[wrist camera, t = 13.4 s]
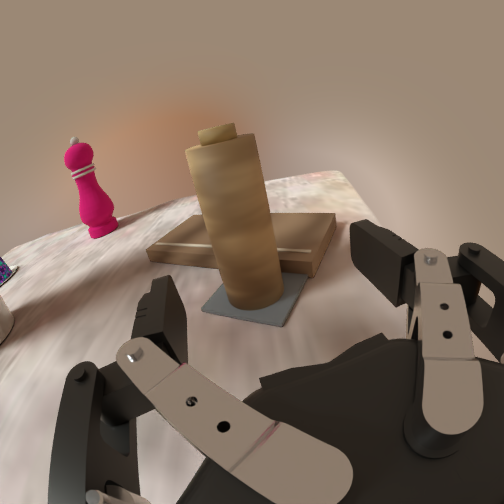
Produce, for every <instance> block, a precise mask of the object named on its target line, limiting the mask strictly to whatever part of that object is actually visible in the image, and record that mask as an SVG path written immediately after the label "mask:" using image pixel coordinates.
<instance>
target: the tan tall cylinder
mask: <svg viewBox="0 0 504 504" xmlns="http://www.w3.org/2000/svg"><path fill="white" fill-rule="evenodd" d="M198 135H199V139H200V143H201V144H200V145H197V146H194V147H191V148H189V149H187V150H185V153H186V157H187V161H188V164H189V168H190V171H191V176H192V179H193V183H194V186H195V190H196V194H197V197H198V201H199V204H200V208H201V211H202V215H203V218H204V222H205V225H206V228H207V232H208V235H209V238H210V242H211V245H212V248H213V252H214V255H215V258H216V262H217V265H218V268H219V271H220V274H221V278H222V281H223V284H224V287H225V290H226V293H227V296H228V300H229V302H230V304H231V305H232V306H234V307H235V308H237V309H240V310H246V311H252V310H259V309H263V308H266V307H268V306H270V305H272V304H274V303H275V302H276V301H278V300H279V299H280V298H281V296H282V294H283V292H284V285H283V279H282V273H281V268H280V262H279V257H278V251H277V246H276V240H275V235H274V230H273V225H272V219H271V214H270V209H269V204H268V199H267V194H266V189H265V184H264V179H263V174H262V170H261V165H260V160H259V154H258V150H257V145H256V140H255V136H254V134H243V135H238V136H237V133H236V129H235V124H234V123H231V124H226V125H221V126H217V127H213V128H209V129H205V130H202V131H198Z"/></svg>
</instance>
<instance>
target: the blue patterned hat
mask: <svg viewBox="0 0 504 504" xmlns="http://www.w3.org/2000/svg"><path fill="white" fill-rule="evenodd" d="M16 269H17V265H14V266H11V267H8V266H7V264H6V263H5V262H4V261H3V259H2V258H1V257H0V286H1V285H2V284H3V283H4V282H5V281H7V280H8V279H9V278H10V277H11V276H12V275H11V274H13V273H14V272H15V271H16ZM12 271H13V273H12Z"/></svg>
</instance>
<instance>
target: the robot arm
mask: <svg viewBox="0 0 504 504" xmlns="http://www.w3.org/2000/svg"><path fill="white" fill-rule="evenodd" d="M350 246H351V258H352V261H353V264H354V266H355V267H356V268H357V269H358V270H359V271H360V272H361V273H362V274H363V275H364V276H365V277H366V278H367V279H368V280H369V281H370V282H371V283H372V284H373V285H374V286H375V287H376V288H377V289H378V290H379V291H380V292H381V293H382V294H383V295H384V296H385V297H386V298H387V299H388V300H389V301H390V302H391V303H392V304H393V305H394V306H395V307H398V306H401V305H403V304H405V303H407V304H408V306H407V318H406V339H392V340H388V339H387V338H386V337H385V336H384V334H383V333H380V334H378V335H375V336H373V337H371V338H369V339H366V340H364V341H362V342H359V343H357V344H355V345H354V346H352V347H351V348H349V349H348V350H346V351H345V352H344V353H342V354H341V355H339V356H338V357H336V358H335V359H333V360H332V361H330V362H328V363H324V364H318V365H311V366H304V367H296V368H290V369H287V370H284V371H281V372H278V373H275V374H272V375H268V376H265V377H262V378H259V379H260V383H261V386H262V388H260V389H258V390H256V391H255V392H253V393H252V394H250V395H249V396H248V397H246V398H245V399H244V400H243V401H240V400H238V399H237V398H235V397H234V396H232V395H231V394H229V393H228V392H226V391H225V390H223V389H222V388H220V387H219V386H217V385H216V384H215V383H213V382H212V381H210V380H209V379H207V378H206V377H205V376H203V375H202V374H200V373H199V372H198V371H196V370H195V369H194V368H192V367H191V366H190V365H188V348H187V317H186V312H185V308H184V305H183V303H182V300H181V298H180V296H179V293H178V291H177V289H176V286H175V284H174V282H173V279H172V277H171V276H170V275H167V276H164V277H160V278H157V279H153V281H152V286H151V291H150V293H146V294H144V296H143V297H142V298H141V300H140V301H139V303H138V307H137V312H136V316H135V318H136V319H135V321H134V326H133V330H132V335H131V340H129V341H128V342H126V343H125V344H123V345H122V346H121V348H120V349H119V350H118V352H117V355H116V361H115V362H113V363H111V364H109V365H107V366H105V367H103V368H100V369H98V368H97V367H96V365H95V364H94V363H92V362H89V361H86V362H81V363H79V364H77V365H76V366H75V367H73V368H72V369H71V370H70V372H69V373H68V375H67V378H66V381H65V385H64V389H63V393H62V398H61V402H60V407H59V412H58V417H57V422H56V428H55V433H54V440H53V447H52V454H51V463H50V473H49V487H48V504H151V503H150V502H149V501H148V500H147V499H145V498H143V497H141V495H140V485H139V473H138V458H137V428H136V417H138V416H140V415H142V414H145V413H147V412H149V411H151V410H153V409H156V410H157V412H158V413H159V414H160V415H161V416H162V417H163V418H164V419H165V420H166V421H167V422H168V423H169V424H170V425H171V426H172V427H173V428H174V429H175V430H176V431H177V432H178V433H180V434H181V435H182V436H183V437H184V438H185V439H186V440H187V441H188V442H189V443H190V444H191V445H192V446H193V447H195V448H196V449H197V450H198V451H199V452H200V453H201V454H203V455H204V456H205V457H206V458H205V460H204V461H203V463H202V465H201V466H200V468H199V469H198V471H197V473H196V474H195V476H194V477H193V479H192V480H191V482H190V483H189V485H188V486H187V488H186V489H185V491H184V493H183V494H182V496H181V497H180V498H179V500H178V501H177V503H176V504H504V261H503V260H501V259H500V258H498V257H497V256H496V255H494V254H493V253H491V252H490V251H489V250H487V249H486V248H484V247H483V246H481V245H479V244H476V243H464V244H462V245H461V246H460V249H459V254H458V256H453V257H446V255H445V254H444V253H442V252H441V251H438V250H436V249H431V248H425V249H420V250H418V249H417V248H415V247H414V246H413V245H411V244H410V243H408V242H406V241H405V240H404V239H402V238H401V237H399V236H397V235H396V234H395V233H393V232H392V231H390V230H388V229H385V228H382V227H379V226H377V225H375V224H374V223H372V222H370V221H369V220H367V219H365V220H361V221H358V222H354V223H351V225H350ZM481 283H483V284H484V285H485V286H486V287H488V288H489V289H490V290H491V291H492V292H493V293H494V296H495V305H494V308H492V307H491V306H490V305H489V304H487V303H486V302H485V301H484V300H483V299H482V298H481V297H480V296H479V295H478V293H479V290H480V286H481ZM13 324H14V317H13V315H12V314H11V312H10V311H9V309H8V307H7V306H6V304H5V302H4V301H3V299H2V297H1V295H0V343H1V342H2V341H3V340H4V339H5V338H6V336H7V335H8V333H9V332H10V330H11V328H12V326H13ZM470 329H471V330H470ZM471 331H472V332H473V333H474V334H475V335H476V336H477V337H478V338H479V339H480V340H481V342H482V343H483V344H484V345H485V346H486V347H487V348H488V349H489V351H490V352H491V353H492V354H493V355H494V356H495V358H496V359H497V360H498V361H499V362H500V363H498V362H494V361H489V360H486V359H482V358H478V357H475V356H474V350H473V343H472V336H471Z"/></svg>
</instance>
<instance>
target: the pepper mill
mask: <svg viewBox="0 0 504 504" xmlns="http://www.w3.org/2000/svg"><path fill="white" fill-rule="evenodd" d="M78 142H79V139H78V138H77V137H72V138H71V140H70V144H71V145H72V146H71V147H70V148H69V149H68V150H67V152H66V153H65V157H64V160H65V165H66V166H67V168H69V169H70V170H71V171H72V173H71V175H72V177H73V178H72V179H75V181H76V183H77V186H78V189H79V195H80V205H79V206H80V207H79V211H80V217H81V220H82V222H83V223H84V224H86V225H88V226H89V227H90V228H89V229H88V231H89V234H90V236H91V238H99V237H102V236H104V235H106V234H108V233H110V232H112V231H113V230H115V229H116V228H117V227H118V223H117V220H116V218H115V217H112V213H113V210H114V205H113V203H112V201H111V199H110V198H109V196H108V195H107V194H106V193H105V192H104V191H103V190H102V189H101V187H100V186H99V185H98V183H97V180H96V177H95V173H94V170H95V169H96V168H94V164H92V159H93V150H92V148H91V146H90V145H89V144H86V143H78Z"/></svg>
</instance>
